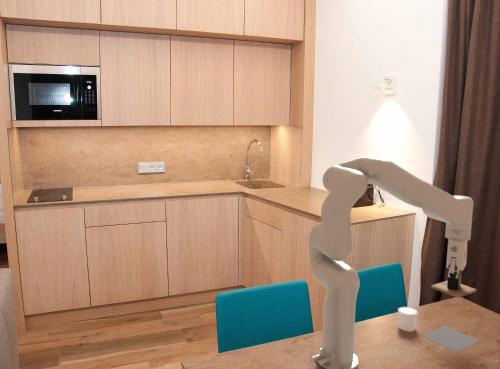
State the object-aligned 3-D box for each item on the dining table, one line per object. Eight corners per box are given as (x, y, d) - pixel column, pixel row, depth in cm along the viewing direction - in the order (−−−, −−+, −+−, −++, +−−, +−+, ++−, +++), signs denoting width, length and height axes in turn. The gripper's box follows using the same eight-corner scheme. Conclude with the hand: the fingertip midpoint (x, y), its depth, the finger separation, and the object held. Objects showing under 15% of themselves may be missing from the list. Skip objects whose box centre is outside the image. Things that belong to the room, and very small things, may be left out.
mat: (455, 353, 146) (455, 352, 146) (421, 336, 157) (421, 335, 156) (479, 342, 152) (479, 341, 152) (444, 327, 163) (445, 326, 163)
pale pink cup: (419, 333, 159) (421, 314, 158) (400, 333, 159) (401, 314, 158) (413, 324, 166) (414, 306, 164) (394, 324, 166) (395, 306, 165)
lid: (458, 297, 145) (459, 280, 144) (431, 287, 153) (432, 271, 152) (476, 291, 150) (478, 274, 149) (449, 282, 158) (450, 266, 158)
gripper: (466, 241, 140) (462, 297, 143) (474, 229, 154) (469, 281, 156) (440, 237, 144) (436, 292, 147) (450, 226, 158) (446, 277, 160)
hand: (453, 286), depth 151 cm, fingers closed on lid, 4 cm apart
